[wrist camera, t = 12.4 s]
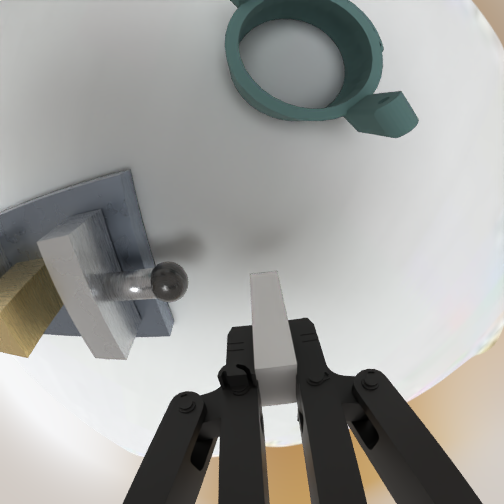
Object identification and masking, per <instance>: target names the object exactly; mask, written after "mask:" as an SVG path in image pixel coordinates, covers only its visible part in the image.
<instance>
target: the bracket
mask: <svg viewBox="0 0 504 504" xmlns="http://www.w3.org/2000/svg"><path fill="white" fill-rule="evenodd" d="M230 1H231V2H232V3H233V4H234V5H235V6H236V7H237V8H238V9H237V10H236V11H235V13H234V14H233V16H232V18H231V20H230V22H229V24H228V27H227V31H226V35H225V50H226V57H227V61H228V65H229V69H230V73H231V77H232V80H233V83H234V85H235V87H236V89H237V90H238V92H239V93H240V95H241V96H242V97H243V98H244V99H245V100H246V101H247V102H248V103H249V104H250V105H251V106H252V107H254V108H255V109H257V110H258V111H260V112H262V113H264V114H266V115H268V116H271V117H274V118H277V119H281V120H287V121H324V120H331V119H336V118H339V117H342V116H344V117H345V118H346V120H347V121H348V122H349V123H350V124H351V125H352V126H353V127H354V128H355V129H356V130H357V131H358V132H362V133H369V134H375V135H380V136H386V137H391V138H398V137H401V136H403V135H405V134H407V133H408V132H410V131H411V130H412V129H414V128H415V127H416V125H417V124H418V121H419V120H418V118H417V116H416V114H415V113H414V111H413V109H412V107H411V106H410V104H409V103H408V101H407V99H406V98H405V96H404V95H403V93H402V92H401V91H398V92H388V93H379V94H373V93H374V92H375V90H376V88H377V87H378V84H379V81H380V78H381V74H382V68H383V58H382V52H383V50H384V48H383V45H382V41H381V39H380V37H379V34H378V32H377V30H376V28H375V27H374V25H373V24H372V22H371V21H370V20H369V18H368V17H367V16H366V15H365V14H364V13H363V12H362V11H361V10H360V9H359V8H358V7H357V6H356V5H355V4H353V3H352V2H350V1H349V0H230ZM275 19H295V20H301V21H304V22H307V23H310V24H312V25H314V26H316V27H317V28H319V29H321V30H322V31H323V32H325V33H326V34H327V35H328V36H329V37H330V38H331V39H332V40H333V41H334V42H335V44H336V45H337V47H338V48H339V50H340V52H341V55H342V57H343V60H344V65H345V79H344V84H343V87H342V89H341V91H340V93H339V95H338V96H337V97H336V99H335V100H334V101H333V102H332V103H331V104H330V105H329V106H327V107H326V108H321V109H310V108H303V107H297V106H294V105H291V104H288V103H285V102H283V101H281V100H279V99H277V98H275V97H273V96H271V95H270V94H268V93H267V92H266V91H264V90H263V89H261V87H260V86H259V85H258V84H257V83H256V82H255V81H254V80H253V79H252V78H251V77H250V75H249V74H248V72H247V71H246V69H245V67H244V65H243V63H242V60H241V58H240V53H239V43H240V41H241V40H242V39H243V37H244V36H245V35H246V34H247V33H248V32H249V31H250V30H252V29H253V28H254V27H256V26H258V25H260V24H261V23H264V22H267V21H270V20H275Z"/></svg>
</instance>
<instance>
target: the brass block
mask: <svg viewBox="0 0 504 504" xmlns="http://www.w3.org/2000/svg"><path fill="white" fill-rule="evenodd" d="M63 305H64V304H63V302H62V300H61V298H60V296H59V294H58V292H57V289H56V287H55V285H54V283H53V281H52V279H51V276H50V274H49V272H48V270H47V267H46V265H45V262H44V260H43V258H41V259H35V260H30V261H24V262H19V263H16V264H15V265H14V266H12V267H11V268H10V269H9V270H8V271H7V272H6V273H5V274H4V275H3V276H2V277H1V278H0V352H3V353H8V354H12V355H17V356H21V357H26V358H28V357H29V355H30V354H31V352H32V350H33V349H34V347H35V346H36V344H37V343H38V341H39V339H40V338H41V336H42V335H43V333H44V332H45V330H46V329H47V328H48V326H49V325H50V323H51V322H52V320H53V319H54V317H55V316H56V315H57V313H58V312H59V310H60V309H61V308H62V306H63Z"/></svg>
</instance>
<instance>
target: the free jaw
mask: <svg viewBox="0 0 504 504" xmlns="http://www.w3.org/2000/svg"><path fill="white" fill-rule="evenodd" d="M37 245H38V247H39V250H40V252H41V255H42V258H43V260H44V262H45V265H46V267H47V270H48V272H49V274H50V276H51V279H52V281H53V283H54V285H55V287H56V289H57V292H58V294H59V296H60V298H61V300H62V302H63V304H64V306H65V307H66V309H67V311H68V313H69V315H70V317H71V319H72V320H73V322H74V324H75V326H76V328H77V329H78V331H79V333H80V334H81V336H82V338H83V339H84V341H85V343H86V344H87V346H88V347H89V349H90V351H91V352H92V354H93V355H94V357H95V358H102V359H121V360H127V357H128V355H129V352H130V349H131V347H132V344H133V341H134V339H135V336H136V334H137V331H138V329H139V326H140V324H141V321H142V320H141V318H140V316H139V313H138V311H137V309H136V306H135V304H134V302H133V300H143V299H159V300H161V301H164V302H174V301H177V300H179V299H180V298H181V297H183V295H184V294H185V293H186V291H187V288H188V277H187V274H186V272H185V270H184V269H183V268H182V267H181V266H180V265H178V264H176V263H174V262H162V263H160V264H158V265H157V266H155V267H154V268H148V269H139V270H130V271H121V268H120V265H119V263H118V260H117V257H116V254H115V251H114V248H113V245H112V242H111V239H110V236H109V233H108V229H107V226H106V223H105V219H104V216H103V212H102V209H98V210H94V211H90V212H86V213H82V214H78V215H74V216H70V217H69V218H68V219H66V220H65V221H64V222H62V223H61V224H59V225H58V226H57V227H55V228H54V229H53V230H51V231H50V232H49V233H48V234H46V235H45V236H44V237H42V238H41V239H40V240H39V241H37Z"/></svg>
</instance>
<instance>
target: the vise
mask: <svg viewBox="0 0 504 504" xmlns="http://www.w3.org/2000/svg"><path fill="white" fill-rule="evenodd" d="M98 209H102V212H103V216H104V219H105V223H106V226H107V229H108V233H109V236H110V239H111V242H112V245H113V248H114V251H115V254H116V257H117V260H118V263H119V265H120V268H121V271H130V270H139V269H148V268H154V267H155V263H154V260H153V257H152V253H151V250H150V247H149V243H148V240H147V236H146V232H145V229H144V225H143V221H142V217H141V214H140V210H139V206H138V201H137V197H136V193H135V189H134V184H133V180H132V175H131V170H125V171H122V172H118V173H114V174H110V175H106V176H103V177H99V178H96V179H92V180H89V181H86V182H82V183H79V184H76V185H73V186H70V187H66V188H63V189H60V190H58V191H55V192H52V193H49V194H46V195H43V196H41V197H38V198H35V199H33V200H30V201H27V202H25V203H22V204H20V205H18V206H15V207H13V208H10V209H8V210H6V211H3V212H1V213H0V278H1V277H2V276H3V275H4V274H5V273H6V272H7V271H8V270H9V269H10V268H11V267H12V266H14V265H15V264H16V263H19V262H24V261H30V260H35V259H41V258H42V255H41V252H40V250H39V247H38V245H37V241H39V240H40V239H41V238H42V237H44V236H45V235H46V234H48V233H49V232H50V231H51V230H53V229H54V228H55V227H57V226H58V225H59V224H61V223H62V222H64V221H65V220H66V219H68V218H69V217H70V216H74V215H78V214H82V213H86V212H90V211H94V210H98ZM133 302H134V304H135V306H136V309H137V311H138V313H139V316H140V318H141V320H142V321H141V324H140V326H139V329H138V331H137V334H136V336H135V337H159V336H170V335H171V331H172V327H173V324H174V320H173V317H172V314H171V311H170V309H169V306H168V303H167V302H164V301H161V300H159V299H143V300H133ZM43 334H51V335H66V336H81V334H80V333H79V331H78V329H77V328H76V326H75V324H74V322H73V320H72V319H71V317H70V315H69V313H68V311H67V309H66V307H65V306H64V305H63V306H62V308H61V309H60V310H59V312H58V313H57V315H56V316H55V317H54V319H53V320H52V322H51V323H50V325H49V326H48V328H47V329H46V330H45V332H44V333H43Z"/></svg>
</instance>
